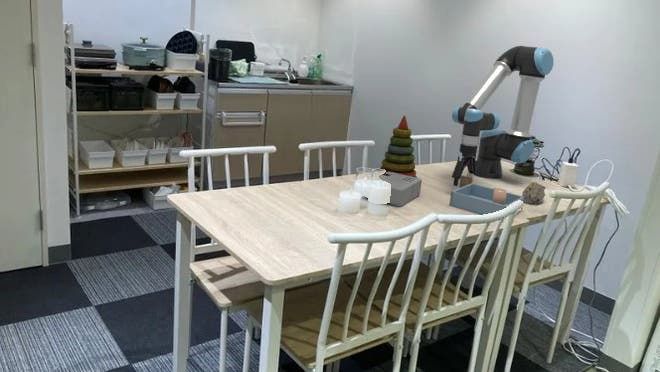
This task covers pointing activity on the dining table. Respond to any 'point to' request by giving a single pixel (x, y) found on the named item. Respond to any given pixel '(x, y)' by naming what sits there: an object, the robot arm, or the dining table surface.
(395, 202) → the projector
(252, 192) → the dining table surface
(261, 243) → the dining table surface
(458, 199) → the tote
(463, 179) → the cube
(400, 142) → the toy
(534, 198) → the rock
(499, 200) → the cylinder
